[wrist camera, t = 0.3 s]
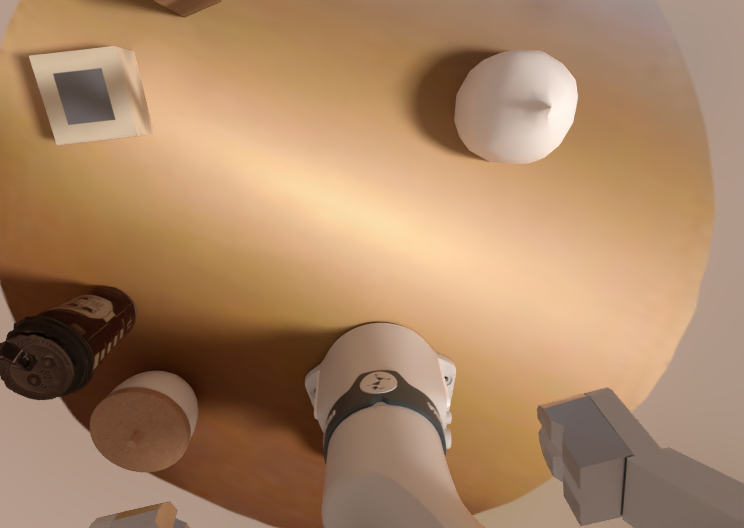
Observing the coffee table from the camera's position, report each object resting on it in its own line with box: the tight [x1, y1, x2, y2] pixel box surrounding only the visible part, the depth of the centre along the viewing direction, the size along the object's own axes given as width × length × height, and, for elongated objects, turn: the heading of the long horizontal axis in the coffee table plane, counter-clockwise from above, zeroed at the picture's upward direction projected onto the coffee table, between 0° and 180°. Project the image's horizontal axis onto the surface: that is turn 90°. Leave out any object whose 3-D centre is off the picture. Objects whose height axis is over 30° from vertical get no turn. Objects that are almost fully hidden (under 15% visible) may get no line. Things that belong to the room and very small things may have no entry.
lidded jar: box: [90, 371, 198, 472], centre depth 53 cm, size 11×11×9 cm
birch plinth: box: [29, 46, 154, 145], centre depth 45 cm, size 8×8×4 cm
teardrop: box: [454, 49, 578, 164], centre depth 42 cm, size 11×11×12 cm
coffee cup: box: [0, 287, 136, 400], centre depth 47 cm, size 9×8×13 cm
